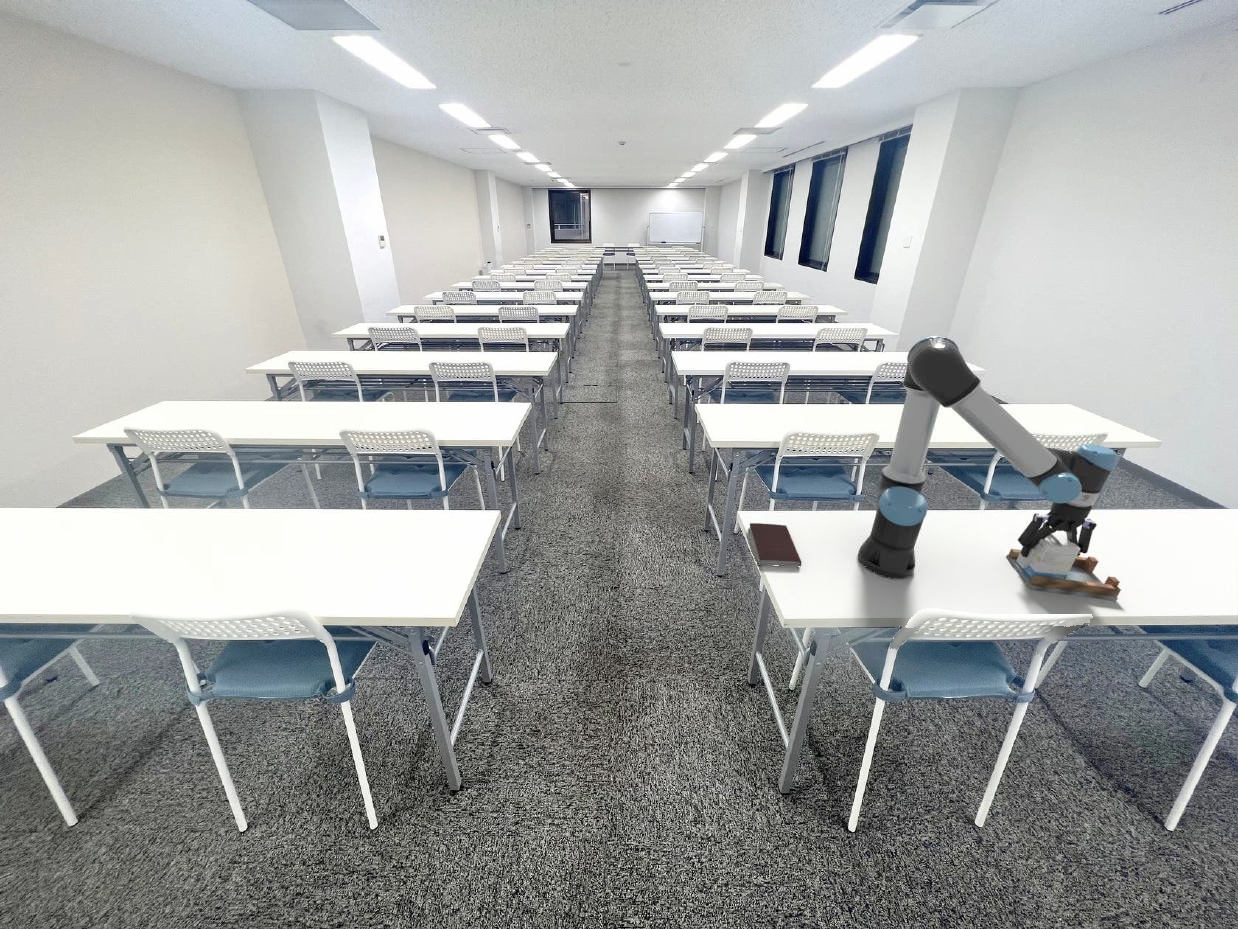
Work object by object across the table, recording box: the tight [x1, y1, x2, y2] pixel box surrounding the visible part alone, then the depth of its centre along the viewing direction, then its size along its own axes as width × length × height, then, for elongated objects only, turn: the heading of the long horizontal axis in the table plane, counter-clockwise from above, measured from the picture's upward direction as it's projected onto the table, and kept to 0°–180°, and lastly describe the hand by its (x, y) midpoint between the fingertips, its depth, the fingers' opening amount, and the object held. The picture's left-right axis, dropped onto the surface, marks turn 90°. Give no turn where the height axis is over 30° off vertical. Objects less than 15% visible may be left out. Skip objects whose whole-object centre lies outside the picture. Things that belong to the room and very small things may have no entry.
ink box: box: [1016, 531, 1080, 579], centre depth 135 cm, size 9×8×13 cm
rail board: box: [1005, 548, 1122, 601], centre depth 137 cm, size 20×15×5 cm
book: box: [747, 522, 802, 567], centre depth 151 cm, size 12×19×3 cm, turn 175°
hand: (1040, 567), depth 138 cm, fingers closed on ink box, 8 cm apart
